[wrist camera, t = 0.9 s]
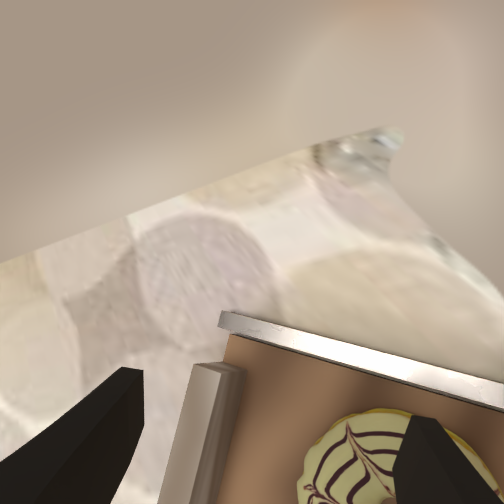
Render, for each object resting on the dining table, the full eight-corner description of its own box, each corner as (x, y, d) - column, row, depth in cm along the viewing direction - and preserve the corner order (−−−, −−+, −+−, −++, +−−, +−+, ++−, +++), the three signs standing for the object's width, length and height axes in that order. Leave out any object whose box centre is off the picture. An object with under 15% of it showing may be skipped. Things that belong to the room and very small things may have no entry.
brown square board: (527, 419, 20) (556, 437, 16) (490, 692, 18) (512, 792, 14) (233, 334, 28) (201, 331, 24) (186, 521, 26) (143, 554, 22)
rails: (541, 757, 17) (552, 792, 16) (173, 538, 26) (160, 548, 25) (582, 404, 20) (594, 408, 18) (230, 312, 28) (221, 310, 27)
